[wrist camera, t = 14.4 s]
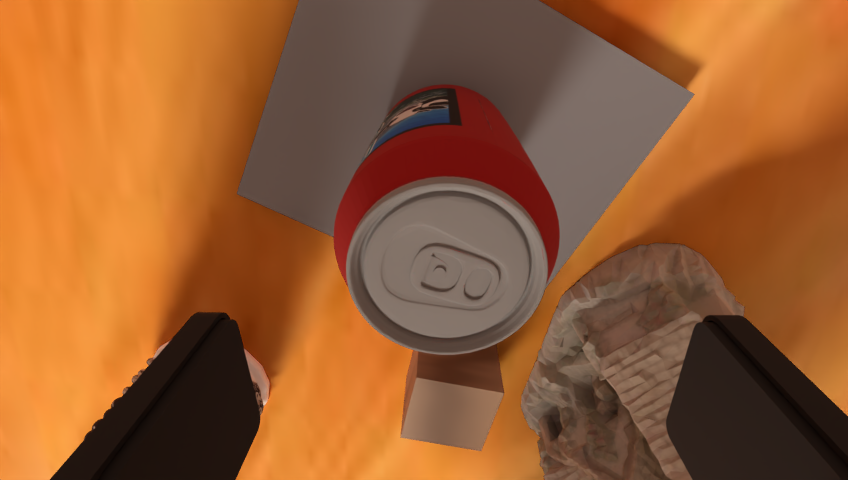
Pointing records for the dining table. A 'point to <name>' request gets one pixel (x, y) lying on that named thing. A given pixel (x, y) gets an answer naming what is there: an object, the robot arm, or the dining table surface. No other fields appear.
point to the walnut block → (452, 397)
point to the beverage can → (446, 226)
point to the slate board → (463, 66)
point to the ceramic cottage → (620, 364)
